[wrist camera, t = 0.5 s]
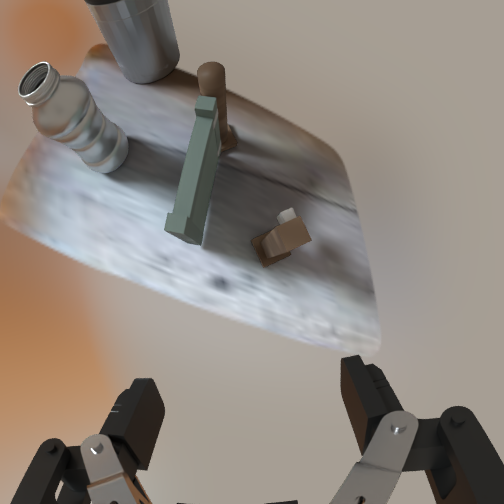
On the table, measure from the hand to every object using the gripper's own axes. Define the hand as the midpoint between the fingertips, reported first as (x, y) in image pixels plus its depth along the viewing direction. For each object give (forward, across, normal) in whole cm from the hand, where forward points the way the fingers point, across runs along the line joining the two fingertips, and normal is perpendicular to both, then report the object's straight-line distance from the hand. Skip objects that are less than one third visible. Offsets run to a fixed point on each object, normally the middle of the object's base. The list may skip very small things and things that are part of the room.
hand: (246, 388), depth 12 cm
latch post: (+26, -2, +1) cm, 26 cm away
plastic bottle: (+29, +17, -14) cm, 36 cm away
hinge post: (+30, +2, -13) cm, 33 cm away
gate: (+26, +5, -7) cm, 27 cm away
